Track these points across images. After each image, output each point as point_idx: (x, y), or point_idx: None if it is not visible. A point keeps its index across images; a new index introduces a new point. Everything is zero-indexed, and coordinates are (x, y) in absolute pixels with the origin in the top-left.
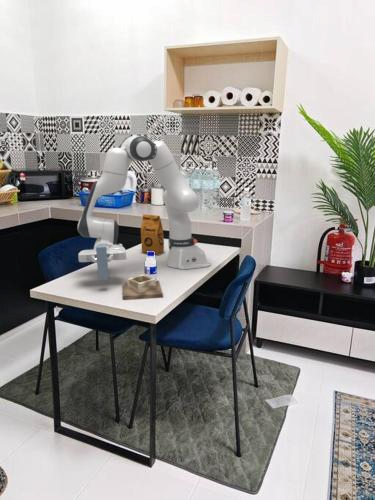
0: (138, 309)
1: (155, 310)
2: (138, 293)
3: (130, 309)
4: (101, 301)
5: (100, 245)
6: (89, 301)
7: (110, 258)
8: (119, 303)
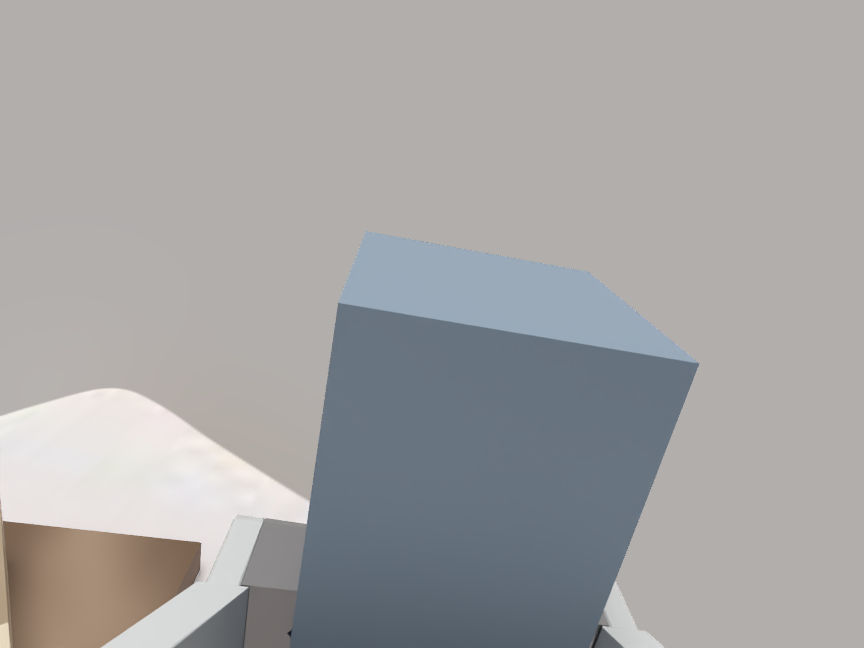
0: (166, 434)
1: (80, 405)
2: (26, 560)
3: (212, 444)
4: None
5: (538, 311)
6: None
7: (227, 547)
8: None
